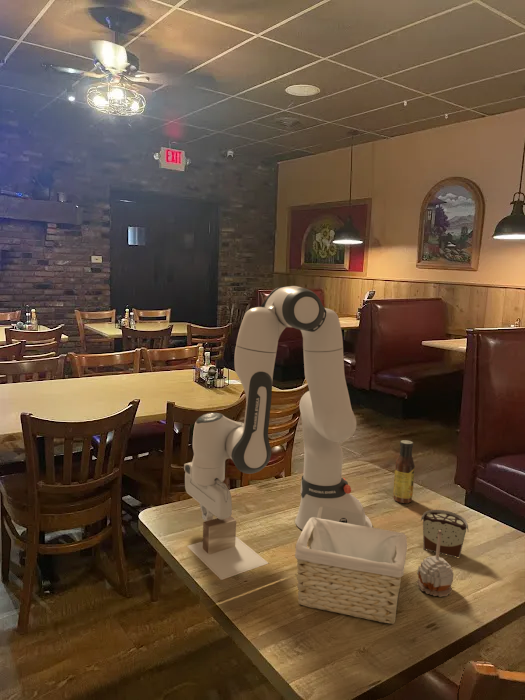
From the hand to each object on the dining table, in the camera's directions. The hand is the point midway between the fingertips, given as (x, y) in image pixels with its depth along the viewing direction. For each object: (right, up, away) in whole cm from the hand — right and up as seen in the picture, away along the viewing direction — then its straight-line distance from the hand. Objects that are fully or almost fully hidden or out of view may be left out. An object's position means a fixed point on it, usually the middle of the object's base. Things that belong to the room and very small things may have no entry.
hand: (207, 520), depth 150 cm
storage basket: (+35, -11, -23) cm, 43 cm away
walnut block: (+4, -6, -5) cm, 8 cm away
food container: (+65, -8, 0) cm, 65 cm away
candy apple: (+57, -11, -18) cm, 60 cm away
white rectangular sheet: (+6, -7, -8) cm, 12 cm away
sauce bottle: (+61, -3, +30) cm, 68 cm away
